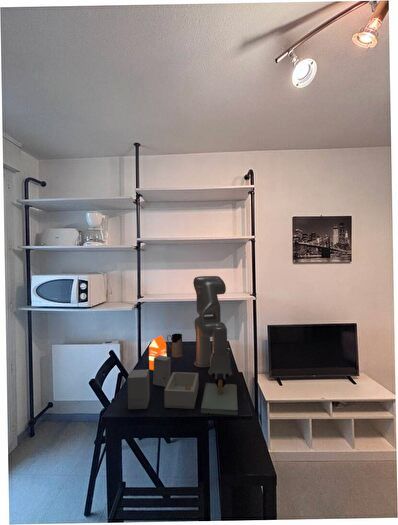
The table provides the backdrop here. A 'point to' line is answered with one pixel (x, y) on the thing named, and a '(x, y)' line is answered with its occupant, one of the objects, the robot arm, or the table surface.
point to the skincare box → (161, 370)
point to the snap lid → (220, 399)
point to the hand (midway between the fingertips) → (220, 386)
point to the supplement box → (138, 389)
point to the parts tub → (181, 390)
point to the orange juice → (156, 350)
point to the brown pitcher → (176, 345)
